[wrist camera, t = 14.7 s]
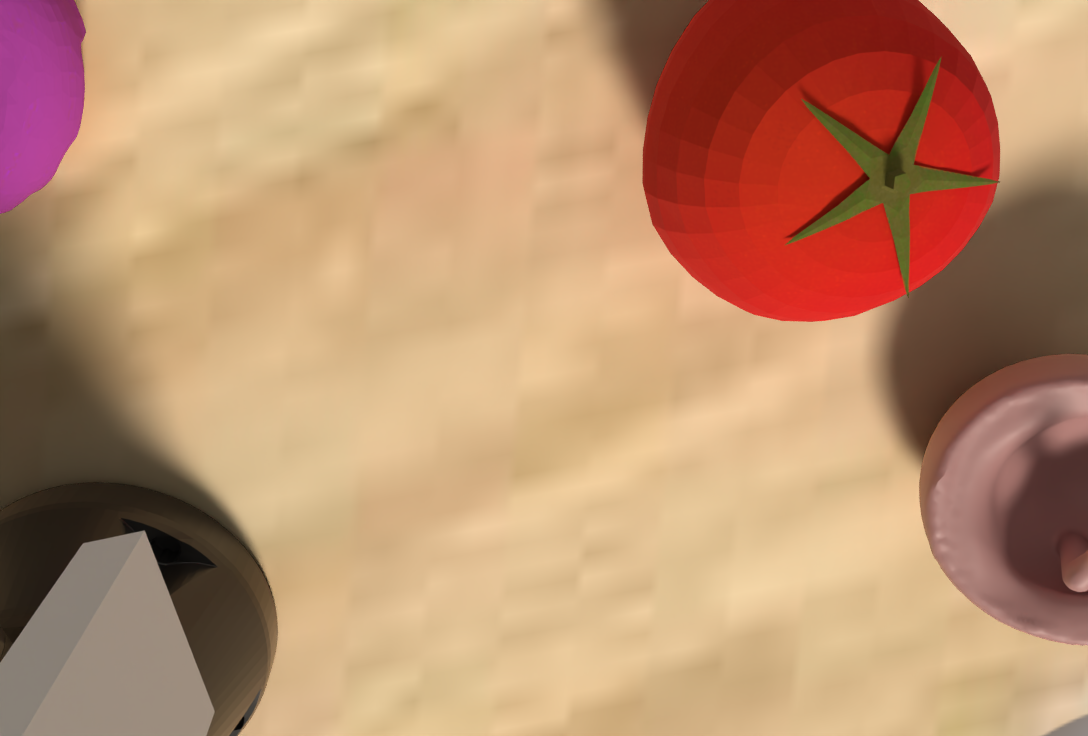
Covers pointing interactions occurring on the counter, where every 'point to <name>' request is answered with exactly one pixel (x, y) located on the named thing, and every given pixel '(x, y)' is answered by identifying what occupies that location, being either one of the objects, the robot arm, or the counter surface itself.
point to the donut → (37, 92)
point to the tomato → (818, 153)
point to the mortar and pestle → (1015, 496)
